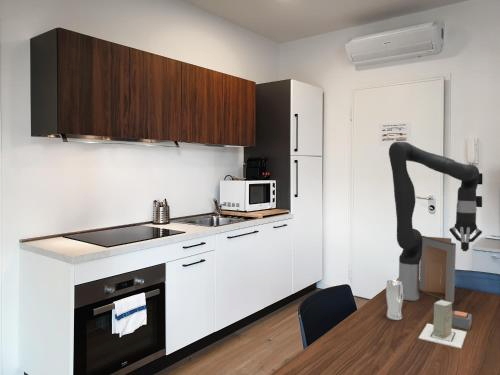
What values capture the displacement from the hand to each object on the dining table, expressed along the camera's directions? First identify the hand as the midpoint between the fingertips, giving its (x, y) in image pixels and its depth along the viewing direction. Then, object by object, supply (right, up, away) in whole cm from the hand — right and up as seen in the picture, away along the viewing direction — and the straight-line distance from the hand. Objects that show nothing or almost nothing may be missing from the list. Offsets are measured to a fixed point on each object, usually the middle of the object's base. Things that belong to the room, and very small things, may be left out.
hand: (464, 250), depth 172 cm
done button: (-8, -26, -12) cm, 30 cm away
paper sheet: (-20, -28, -22) cm, 41 cm away
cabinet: (+2, -26, +23) cm, 35 cm away
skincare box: (-20, -28, -22) cm, 41 cm away
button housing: (-8, -28, -12) cm, 31 cm away
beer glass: (-32, -28, -4) cm, 42 cm away
